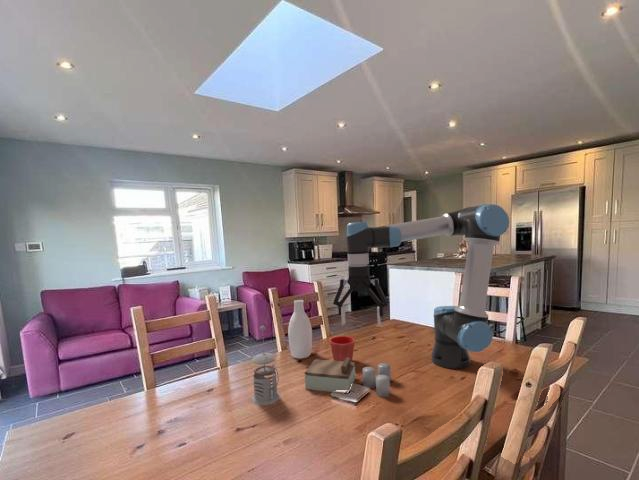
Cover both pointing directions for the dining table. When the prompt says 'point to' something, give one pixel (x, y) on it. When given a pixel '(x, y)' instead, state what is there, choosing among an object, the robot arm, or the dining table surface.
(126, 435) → the dining table surface
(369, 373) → the grey cylinder
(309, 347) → the bottle
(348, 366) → the walnut lid
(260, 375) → the french press
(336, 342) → the flower pot
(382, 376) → the grey rounded cylinder
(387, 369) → the grey cylinder
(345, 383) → the sage box
